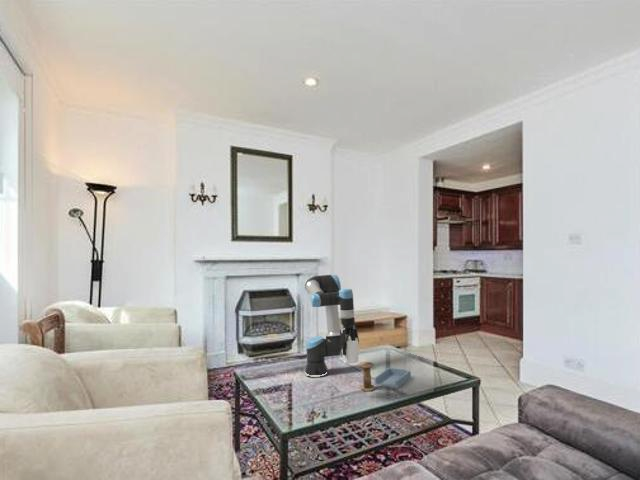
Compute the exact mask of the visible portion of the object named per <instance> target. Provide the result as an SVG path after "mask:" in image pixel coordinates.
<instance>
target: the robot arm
mask: <svg viewBox="0 0 640 480" xmlns="http://www.w3.org/2000/svg"><path fill="white" fill-rule="evenodd" d="M304 289H305V292H307V294H309V295H310V304H311V307H312V308H320V307H321V308H322V307H325V316H326V328H327V333H326V335H325V338H324V337H323V336H314V337H310V338H309V339H307V340H306V345H305V350H306V366H305V371H304V373H305V372H306V373H307V374H309V375H322V374H325V373H326V372H328V373H329V370H328V368H327V367H328V366H327V365H326V362H325V358H328V357H336V356H338V357H339V356H342V361H348V349H346V348H347V341H348V337H351V340H352V341H355V338H358V345H359V344H360V343H359V342H360V339H359V334H358V330H357V329H358V328H357V325H355V323H356V322H355V320H356V319H355V310H354V309H355V307H354V306H355V305H354V293H353V289H352V288H343V289H342V288H341V281H340V279H339V276H338V275H337V274H323V275H314V276H312V277H310V278H308V279H307V280H306V282H305V284H304ZM339 306H340V307H339ZM339 308H340V309H339ZM339 310H340V313H339ZM339 314H340V315H339ZM340 324H341V326H342V329H341V326H340ZM342 351H343V355H342Z"/></svg>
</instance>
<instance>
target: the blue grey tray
mask: <svg viewBox="0 0 640 480" xmlns="http://www.w3.org/2000/svg"><path fill="white" fill-rule="evenodd" d="M411 373H412V372H411V370H409V369H401V368H395V367H387V368H386V369H384V370H383V371H381V372H380V373H379V374H377V375H376V376H374V378H373V379H374V386H378V387H384V388H389V389H395V390H398V389H399V388H401V386H403V385H404V384H405V383H407V381H408V380H410V379H411V378H412V375H411Z"/></svg>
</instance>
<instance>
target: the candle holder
mask: <svg viewBox="0 0 640 480" xmlns="http://www.w3.org/2000/svg"><path fill="white" fill-rule="evenodd" d="M358 338H359V337H358ZM358 338H355V341H352V340H351V337H350V336H349V337H348V341H347V348H346V349H348V361H343V360H342V361H343V363H344V364H351V365H352V364H357V363H358V362H359V344H358V343H359V342H358ZM341 356H343V351H342V355H341Z"/></svg>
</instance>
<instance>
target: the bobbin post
mask: <svg viewBox="0 0 640 480" xmlns="http://www.w3.org/2000/svg"><path fill="white" fill-rule="evenodd" d="M358 365H359V367H360V368H362V379H363V384H362V385H361V386H360V390H361V391H362V392H373V391H375V390H376V385H375V384H374V385H373V384H372V374H371V371H372V370H371V368H373V367H374V363H373V362H370V361H361V362H360V363H359V364H358Z"/></svg>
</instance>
